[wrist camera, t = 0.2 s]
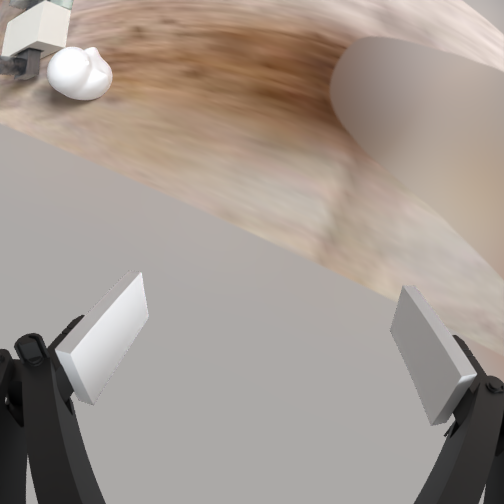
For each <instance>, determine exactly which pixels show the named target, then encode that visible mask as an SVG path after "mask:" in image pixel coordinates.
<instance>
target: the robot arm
mask: <svg viewBox="0 0 504 504" xmlns="http://www.w3.org/2000/svg"><path fill="white" fill-rule="evenodd" d="M148 318H149V315H148V310H147V304H146V298H145V292H144V285H143V279H142V272H137V271H128V272H127V273H126V274H125V275H124V276H123V277H122V278H121V279H120V280H119V281H118V282H117V283H116V284H115V285H114V286H113V287H112V288H111V289H110V290H109V291H108V292H107V293H106V294H105V295H104V296H103V297H102V298H101V299H100V300H99V302H97V304H96V305H95V306H94V307H93V308H92V309H91V310H90V311H89V312H88V313H87V314H86V315H81V316H79V317H78V318H76V319H74V320H73V321H72V322H71V323H70V324H69V325H68V326H67V328H65V329H64V330H63V331H62V334H60V335H59V336H58V337H57V338H56V339H55V340H54V341H53V342H52V343H51V345H50V346H49V347H48V348H46V346H45V343H44V341H43V339H42V336H40V335H39V334H36V333H31V334H26V335H24V336H22V337H21V338H19V339H18V340H17V342H16V343H15V345H14V348H15V350H16V352H17V354H18V356H19V358H20V360H18V359H12V357H11V355H10V353H9V351H8V350H6V349H0V504H26V469H27V455H28V458H29V464H30V469H31V474H32V479H33V484H34V488H35V492H36V496H37V500H38V504H106V503H105V501H104V499H103V496H102V494H101V491H100V489H99V486H98V484H97V481H96V478H95V476H94V473H93V471H92V468H91V465H90V462H89V459H88V456H87V453H86V450H85V447H84V443H83V440H82V436H81V433H80V430H79V426H78V422H77V418H76V414H75V410H74V406H73V402H72V400H71V398H70V396H71V394H72V393H73V391H74V392H75V394H76V396H77V398H78V400H79V401H82V402H85V403H88V404H91V405H94V404H95V402H96V401H97V399H98V397H99V396H100V394H101V392H102V391H103V389H104V387H105V386H106V384H107V382H108V381H109V379H110V377H111V376H112V374H113V373H114V371H115V369H116V368H117V366H118V365H119V363H120V361H121V360H122V358H123V356H124V355H125V353H126V352H127V350H128V349H129V347H130V345H131V344H132V342H133V341H134V339H135V338H136V336H137V335H138V333H139V331H140V330H141V328H142V327H143V325H144V324H145V322H146V321H147V319H148ZM390 332H391V334H392V336H393V338H394V340H395V342H396V344H397V346H398V348H399V351H400V353H401V355H402V357H403V359H404V362H405V364H406V366H407V368H408V370H409V373H410V375H411V378H412V380H413V382H414V384H415V387H416V389H417V392H418V394H419V397H420V399H421V401H422V404H423V406H424V409H425V412H426V414H427V417H428V419H429V422H430V424H431V426H433V425H437V424H442V423H446V422H447V420H448V419H449V418H450V416H451V414H452V413H453V414H454V417H455V419H456V420H455V421H454V423H453V424H452V425H451V426H450V428H449V429H448V431H447V432H446V433H445V435H444V436H445V437H446V436H447V434H448V436H447V438H446V441H445V443H444V445H443V448H442V450H441V452H440V454H439V457H438V459H437V461H436V463H435V465H434V467H433V469H432V471H431V473H430V475H429V477H428V479H427V481H426V483H425V485H424V487H423V488H422V490H421V492H420V494H419V495H418V497H417V499H416V501H415V502H414V504H478V503H479V501H480V498H481V495H482V492H483V490H484V487H485V484H486V488H485V496H484V503H483V504H504V383H503V382H502V381H501V380H500V379H498V378H497V377H494V376H487V375H486V373H485V372H484V371H483V369H482V367H481V366H480V364H479V363H478V361H477V360H476V359H475V357H474V356H473V354H472V352H471V351H470V350H469V348H468V346H467V345H466V344H465V342H464V341H463V340H462V339H460V338H459V337H458V336H456V335H451V333H450V332H449V330H448V329H447V328H446V326H445V325H444V323H443V322H442V321H441V319H440V318H439V316H438V315H437V314H436V312H435V311H434V310H433V308H432V307H431V306H430V304H429V303H428V302H427V300H426V299H425V298H424V296H423V295H422V294H421V292H420V291H419V290H418V289H417V287H416V286H402V290H401V294H400V298H399V301H398V305H397V308H396V312H395V315H394V319H393V322H392V326H391V329H390ZM5 398H7V401H6V403H5Z"/></svg>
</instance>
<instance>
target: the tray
mask: <svg viewBox="0 0 504 504" xmlns="http://www.w3.org/2000/svg"><path fill="white" fill-rule="evenodd" d="M50 2H51V3H54V4H56V5H59V6H61V7H64V8H66V9H68V10H71V9H72V4H73V0H50Z"/></svg>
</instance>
